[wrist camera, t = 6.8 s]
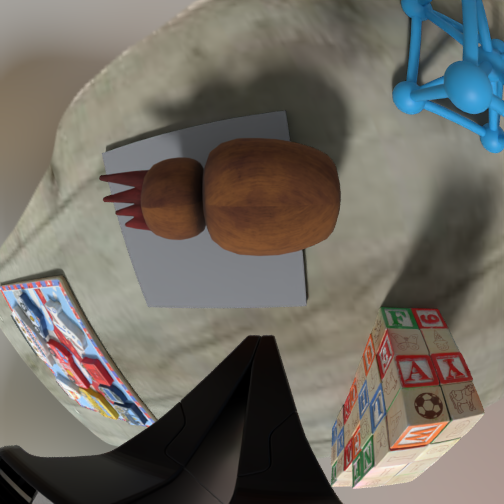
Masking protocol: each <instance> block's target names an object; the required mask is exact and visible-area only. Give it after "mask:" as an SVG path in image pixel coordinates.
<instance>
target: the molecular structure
mask: <svg viewBox="0 0 504 504" xmlns="http://www.w3.org/2000/svg"><path fill="white" fill-rule="evenodd" d="M431 1H432V0H401V6H402V9H403V11H404V12H405V13H406V14H407V15H408V16H409V17H410V18H412V22H411V39H410V51H409V61H408V70H407V78H406V81H402V82H400V83H398V84H397V85H396V86H395V87H394V89H393V92H392V95H393V101H394V103H395V105H396V106H397V108H398V109H399V110H401V111H402V112H404V113H406V114H417V113H419V112H420V111H422V110H423V109H426V110H428V111H431V112H433V113H435V114H438V115H440V116H442V117H444V118H446V119H449V120H451V121H453V122H455V123H457V124H459V125H461V126H463V127H465V128H467V129H469V130H471V131H473V132H475V133H477V134H478V135H480V140H481V143H482V145H483V146H484V148H485V149H486V150H488V151H489V152H492V153H499V152H501V151H502V150H503V149H504V132H503V130H502V129H501V127H500V126H499V123H500V115H502V116H503V117H504V101H503V100H502V94H503V85H504V42H503V41H502V40H499V39H491V37H490V32H489V27H488V22H487V18H486V14H485V10H484V6H483V3H482V0H462V13H463V25H462V24H460V23H459V22H457V21H455V20H453V19H451V18H449V17H447V16H445V15H443V14H441V13H439V12H437V11H435V10H433V9H432V6H431V3H430V2H431ZM428 19H429V20H430V21H432V22H433V23H435V24H436V25H437V26H439V27H440V28H441V29H443V30H444V31H445V32H447V33H448V34H449V35H450V36H452V37H453V38H454V39H455V40H457V41H458V42H459V43H460V44H461V45H463V61H457V62H454V63H453V64H451V65H450V66H448V68H447V70H446V71H445V74H444V76H442V77H440V78H437V79H435V80H433V81H431V82H429V83H426V84H424V85H422V86H418V85H417V76H418V67H419V57H420V44H421V26H422V21H425V20H428ZM478 31H479V34H478ZM460 32H461V33H460ZM462 33H463V34H462ZM478 43H480V44H481V46H480V47H478ZM441 98H449V99H450V100H451V102H452V103H453V104H454V105H455V106H456V107H457V108H459V109H461V110H462V111H464V112H467V113H470V114H478V113H481V112H484V111H485V110H486V109H487V108H488V110H489V123H486V124H484V125H483V126H480V125H479V124H477V123H475V122H473V121H471V120H469V119H467V118H465V117H464V116H462V115H460V114H458V113H456V112H454V111H451V110H449V109H447V108H445V107H443V106H441V105H439V104H436V103H434V102H432V101H429V100H433V99H441Z"/></svg>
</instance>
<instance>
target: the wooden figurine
mask: <svg viewBox="0 0 504 504" xmlns="http://www.w3.org/2000/svg"><path fill="white" fill-rule="evenodd" d="M99 179H100V180H101V181H106V182H111V183H116V184H121V185H126V186H131V187H135V188H132V189H129V190H126V191H122V192H119V193H116V194H113V195H110V196H106V197H104V198H103V201H104V202H116V203H131V204H134V205H131V206H128V207H125V208H122V209H119V210H117V211H116V215H119V216H133V217H134V218H132V219H131V220H129V221H128V222H126V223H125V226H126V227H130V228H135V229H141V230H149V231H152V232H153V233H154V234H155V235H157V236H160V237H163V238H166V239H170V240H184V239H189V238H192V237H195V236H197V235H199V234H200V233H202V232H203V231H204V230H205V227H206V226H207V229H208V232H209V234H210V237H211V239H212V240H213V241H214V242H215V243H217V244H218V245H219V246H220V247H221V248H223V249H224V250H227V251H230V252H233V253H236V254H239V255H251V256H272V255H282V254H287V253H292V252H297V251H300V250H302V249H305V248H308V247H310V246H313V245H315V244H317V243H319V242H321V241H323V240H325V239H327V238H328V237H329V235H330V234H331V233H332V232H333V230H334V228H335V225H336V222H337V218H338V214H339V210H340V201H341V191H340V182H339V178H338V173H337V169H336V166H335V164H334V162H333V161H332V159H331V158H330V157H329V156H328V155H327V154H325V153H323V152H321V151H319V150H317V149H315V148H313V147H310V146H306V145H303V144H299V143H295V142H290V141H284V140H279V139H267V138H237V139H233V140H230V141H227V142H223V143H221V144H220V145H218V146H217V147H216V148H215V149H213V150H212V151H211V152H210V153H209V156H208V158H207V161H206V164H205V167H204V169H203V166H202V165H201V163H200V162H198V161H197V160H195V159H191V158H185V157H177V158H170V159H166V160H163V161H160V162H158V163H156V164H154V165H153V166H152V167H151V168H150V169H149V170H140V171H130V172H122V173H115V174H108V175H101V176H100V178H99Z"/></svg>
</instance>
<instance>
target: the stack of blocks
mask: <svg viewBox="0 0 504 504" xmlns="http://www.w3.org/2000/svg"><path fill="white" fill-rule="evenodd" d="M355 376H356V377H355V379H354V382H353V384H352V387H351V389H350V393H349V395H348V397H347V399H346V402H345V404H344V406H343V407H342V409H341V411H340V413H339V415H338V417H337V420H336V422H335V424H334V426H333V428H332V455H331V466H332V479H331V487H337V486H339V487H340V486H352V488H353V489H354V488H367V487H376V486H384V485H391V484H398V483H405V482H410V481H412V480H414V479H415V478H416V477H418V476H419V475H420V474H422V473H423V472H424V471H425V470H426V469H428V468H429V467H430V466H431V465H432V464H434V463H435V462H436V461H437V460H438V459H439V458H440V457H441V456H442V455H444V454H445V453H446V452H447V451H448V450H449V449H450V448H451V447H452V446H453V445H454V444H455V443H457V442H458V441H459V440H460V438H461V437H462V436H464V435H465V434H466V433H467V432H468V431H469V430H470V429H471V428H472V427H473V426H474V425H475V424H476V423H477V421H479V419H480V418H481V417H482V416H483V415H484V409H483V406H482V404H481V401H480V399H479V396H478V394H477V391H476V389H475V386H474V384H473V383H472V381H473V378H472V376H471V373H470V371H469V369H468V366H467V364H466V362H465V360H464V358H463V356H462V354H461V353H460V351H459V349H458V347H457V345H456V343H455V341H454V339H453V337H452V335H451V333H450V332H449V330H448V327H447V325H446V323H445V321H444V319H443V318H442V316H441V314H440V312H439V310H438V309H423V308H410V309H409V308H388V307H380V309H379V312H378V315H377V318H376V321H375V324H374V327H373V330H372V333H371V334H370V337H369V339H368V342H367V345H366V348H365V351H364V353H363V357H362V359H361V361H360V364H359V366H358V369H357V372H356V374H355Z"/></svg>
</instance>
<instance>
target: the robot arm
mask: <svg viewBox="0 0 504 504" xmlns="http://www.w3.org/2000/svg"><path fill="white" fill-rule="evenodd" d="M0 504H343V503H342V502H341V500H340V499H339V498H338V496H337V495H336V493H335V492H334V490H333V489H332V487H331V485H330V484H329V482H328V480H327V478H326V476H325V474H324V472H323V470H322V468H321V467H320V465H319V463H318V461H317V459H316V457H315V455H314V453H313V451H312V449H311V447H310V445H309V443H308V440H307V438H306V436H305V433H304V430H303V428H302V425H301V422H300V419H299V415H298V413H297V409H296V406H295V402H294V399H293V396H292V392H291V389H290V386H289V383H288V379H287V376H286V373H285V369H284V366H283V363H282V359H281V356H280V353H279V349H278V346H277V343H276V339H275V336H273V335H263V336H262V337H261V336H260V335H249V336H247V337H246V338H245V339H244V340H243V341H242V342H241V343H240V344H239V345H238V346H237V347H236V348H235V349H234V350H233V351H232V352H231V353H230V354H229V355H228V356H227V357H226V358H225V359H224V360H223V361H222V362H221V363H220V364H219V365H218V366H217V367H216V368H215V369H214V370H213V371H212V372H211V373H210V374H209V375H208V376H207V377H205V378H204V379H203V380H202V381H201V382H200V383H199V384H198V385H197V386H196V387H195V388H194V389H193V390H192V391H191V392H189V393H188V394H187V395H186V396H185V397H184V398H183V399H182V400H181V403H180V402H178V403H177V404H176V405H175V406H174V407H173V408H172V409H171V410H169V411H168V412H167V413H166V414H165V415H164V416H162V417H161V418H160V419H159V420H157V421H156V422H155V423H153V424H152V425H151V426H149V427H148V428H146V429H145V430H143V431H142V432H141V433H139V434H138V435H136V436H135V437H133V438H132V439H130V440H128V441H127V442H125V443H124V444H122V445H121V446H119V447H118V448H116V449H114V450H112V451H110V452H107V453H104V454H100V455H92V456H77V457H38V456H34V455H31V454H29V453H27V452H26V451H25V450H23V449H22V448H21V447H20V446H17V445H14V446H4V447H1V448H0Z"/></svg>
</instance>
